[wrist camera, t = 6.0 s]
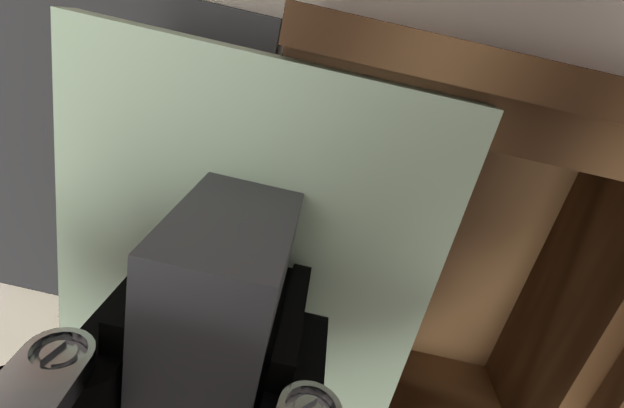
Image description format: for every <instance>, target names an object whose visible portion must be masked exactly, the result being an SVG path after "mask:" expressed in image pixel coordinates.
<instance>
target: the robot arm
mask: <svg viewBox="0 0 624 408" xmlns="http://www.w3.org/2000/svg"><path fill="white" fill-rule="evenodd" d="M311 269H312V267H308V266H303V265H299V264H295V263H294V265H293V268H290V267H288V268H287V272H286V276H285V280H284V284H283V288H282V292H281V296H280V299H279V303H278V307H277V311H276V315H275V319H274V323H273V327H272V331H271V334H270V338H269V342H268V346H267V350H266V354H265V358H264V362H263V367H262V371H261V376H260V380H259V385H258V390H257V394H256V399H255V403H254V408H342V405H341V402H340V400H339V398H338V397H337V396H336V395H335V393H334V392H333V391H332V390H330V389H329V388H328V387H326V386H325V385H324V378H325V364H326V350H327V336H328V320H329V318H328V317H325V316H321V315H316V314H312V313H308V312H305V307H306V301H307V294H308V288H309V282H310V275H311ZM126 287H127V276H126V278H125V279H124V280H123V281H122V282H121V283H120V284H119V285H118V286H117V288H116V289H115V290H114V291H113V292H112V293H111V294H110V295H109V296H108V298H107V299H106V300H105V301H104V302H103V303H102V304H101V305H100V306H99V308H98V309H97V310H96V311H95V312H94V313H93V314H92V315H91V317H90V318H89V319H88V320H87V321H86V322H85V323H84V324H83V325H82V327H81V328H80V329H79V328H73V327H61V328H54V329H50V330H47V331H44V332H42V333H40V334H38V335H36V336H34V337H32V338H31V339H30V340H29V341H27V342H26V343H25V344H24V345H23V346H22V347H21V348H20V349H19V350H18V352H17V353H16V354H15V355H14V356H13V357H12V358H11V359H10V360H9V361H8V362H7V363H6V365H3V366H0V408H121V392H122V371H123V350H124V329H125V308H126Z"/></svg>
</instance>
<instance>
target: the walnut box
mask: <svg viewBox="0 0 624 408" xmlns="http://www.w3.org/2000/svg"><path fill="white" fill-rule="evenodd" d="M278 45H282V46H284V47H283V53H282V56H286V57H290V58H295V59H299V60H303V61H308V62H312V63H316V64H321V65H325V66H329V67H334V68H338V69H342V70H347V71H351V72H355V73H360V74H364V75H368V76H373V77H377V78H381V79H386V80H390V81H394V82H399V83H403V84H407V85H412V86H416V87H420V88H425V89H429V90H433V91H438V92H442V93H446V94H451V95H455V96H459V97H464V98H468V99H472V100H477V101H481V102H485V103H490V104H492V105H494V106H496V107H498V108H500V109H502V110H504V112H503V115H502V117H501V120H500V122H499V125H498V127H497V130H496V133H495V135H494V138H493V140H492V143H491V145H490V148H489V151H488V153H487V156H486V158H485V161H484V163H483V166H482V169H481V171H480V174H479V176H478V179H477V181H476V184H475V187H474V189H473V192H472V194H471V197H470V199H469V202H468V205H467V207H466V210H465V212H464V215H463V217H462V220H461V223H460V225H459V228H458V230H457V233H456V235H455V238H454V241H453V243H452V246H451V248H450V251H449V253H448V256H447V259H446V261H445V264H444V266H443V269H442V271H441V274H440V276H439V279H438V282H437V284H436V287H435V289H434V292H433V294H432V297H431V300H430V302H429V305H428V307H427V310H426V312H425V315H424V318H423V320H422V323H421V325H420V328H419V330H418V333H417V336H416V338H415V341H414V343H413V346H412V348H411V351H410V354H409V356H408V359H407V361H406V364H405V366H404V369H403V372H402V374H401V377H400V379H399V382H398V384H397V387H396V390H395V392H394V395H393V397H392V400H391V402H390V405H389V408H624V77H622V76H618V75H613V74H609V73H605V72H601V71H596V70H592V69H588V68H583V67H579V66H575V65H570V64H566V63H562V62H557V61H553V60H549V59H544V58H540V57H536V56H531V55H527V54H523V53H519V52H514V51H510V50H506V49H501V48H497V47H493V46H488V45H484V44H480V43H475V42H471V41H467V40H462V39H458V38H454V37H450V36H445V35H441V34H437V33H432V32H428V31H424V30H419V29H415V28H411V27H406V26H402V25H398V24H393V23H389V22H385V21H381V20H376V19H372V18H368V17H363V16H359V15H355V14H350V13H346V12H342V11H337V10H333V9H329V8H324V7H320V6H316V5H312V4H307V3H303V2H299V1H294V0H286V3H285V8H284V14H283V20H282V26H281V32H280V38H279V44H278Z"/></svg>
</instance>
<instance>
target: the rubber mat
mask: <svg viewBox="0 0 624 408" xmlns="http://www.w3.org/2000/svg"><path fill="white" fill-rule="evenodd" d="M50 6H56V7H70V8H78V9H82V10H87V11H91V12H95V13H100V14H104V15H108V16H113V17H117V18H121V19H126V20H130V21H134V22H139V23H143V24H147V25H152V26H156V27H160V28H165V29H169V30H173V31H178V32H182V33H186V34H191V35H195V36H199V37H204V38H208V39H212V40H217V41H221V42H225V43H230V44H234V45H238V46H243V47H247V48H251V49H256V50H260V51H264V52H269V53H273V54H277V50H278V44H279V38H280V32H281V26H282V20H283V19H280V18H275V17H271V16H267V15H263V14H258V13H254V12H250V11H245V10H241V9H237V8H232V7H228V6H224V5H219V4H215V3H211V2H206V1H202V0H0V283H5V284H9V285H14V286H18V287H23V288H27V289H32V290H36V291H40V292H45V293H49V294H54V295H58V260H57V224H56V188H55V153H54V117H53V82H52V46H51V10H50ZM58 296H59V295H58Z"/></svg>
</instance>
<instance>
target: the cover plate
mask: <svg viewBox="0 0 624 408" xmlns="http://www.w3.org/2000/svg"><path fill="white" fill-rule="evenodd" d="M50 10H51V46H52V82H53V117H54V153H55V188H56V224H57V260H58V295H59V328H61V327H73V328H79V329H80V328H81V327H82V325H83V324H84V323H85V322H86V321H87V320H88V319H89V318H90V317H91V315H92V314H93V313H94V312H95V311H96V310H97V309H98V308H99V306H100V305H101V304H102V303H103V302H104V301H105V300H106V299H107V298H108V296H109V295H110V294H111V293H112V292H113V291H114V290H115V289H116V288H117V286H118V285H119V284H120V283H121V282H122V281H123V280H124V279H125V278H126V276H127V287H126V308H125V329H124V350H123V371H122V392H121V408H254V403H255V399H256V394H257V390H258V385H259V380H260V376H261V371H262V367H263V362H264V358H265V354H266V350H267V346H268V342H269V338H270V334H271V331H272V327H273V323H274V319H275V315H276V311H277V307H278V303H279V299H280V296H281V292H282V288H283V284H284V280H285V276H286V272H287V268H288V267H290V268H293V265H294V263H295V264H299V265H303V266H308V267H312V269H311V275H310V282H309V288H308V294H307V301H306V307H305V312H308V313H312V314H316V315H321V316H325V317H328V318H329V320H328V336H327V350H326V364H325V378H324V385H325V386H326V387H328V388H329V389H330V390H332V391H333V392H334V393H335V395H336V396H337V397H338V398H339V400H340V402H341V405H342V408H389V405H390V402H391V400H392V397H393V395H394V392H395V390H396V387H397V384H398V382H399V379H400V377H401V374H402V372H403V369H404V366H405V364H406V361H407V359H408V356H409V354H410V351H411V348H412V346H413V343H414V341H415V338H416V336H417V333H418V330H419V328H420V325H421V323H422V320H423V318H424V315H425V312H426V310H427V307H428V305H429V302H430V300H431V297H432V294H433V292H434V289H435V287H436V284H437V282H438V279H439V276H440V274H441V271H442V269H443V266H444V264H445V261H446V259H447V256H448V253H449V251H450V248H451V246H452V243H453V241H454V238H455V235H456V233H457V230H458V228H459V225H460V223H461V220H462V217H463V215H464V212H465V210H466V207H467V205H468V202H469V199H470V197H471V194H472V192H473V189H474V187H475V184H476V181H477V179H478V176H479V174H480V171H481V169H482V166H483V163H484V161H485V158H486V156H487V153H488V151H489V148H490V145H491V143H492V140H493V138H494V135H495V133H496V130H497V127H498V125H499V122H500V120H501V117H502V115H503V112H504V110H502V109H500V108H498V107H496V106H494V105H492V104H490V103H485V102H481V101H477V100H472V99H468V98H464V97H459V96H455V95H451V94H446V93H442V92H438V91H433V90H429V89H425V88H420V87H416V86H412V85H407V84H403V83H399V82H394V81H390V80H386V79H381V78H377V77H373V76H368V75H364V74H360V73H355V72H351V71H347V70H342V69H338V68H334V67H329V66H325V65H321V64H316V63H312V62H308V61H303V60H299V59H295V58H290V57H286V56H282V55H277V54H273V53H269V52H264V51H260V50H256V49H251V48H247V47H243V46H238V45H234V44H230V43H225V42H221V41H217V40H212V39H208V38H204V37H199V36H195V35H191V34H186V33H182V32H178V31H173V30H169V29H165V28H160V27H156V26H152V25H147V24H143V23H139V22H134V21H130V20H126V19H121V18H117V17H113V16H108V15H104V14H100V13H95V12H91V11H87V10H82V9H78V8H70V7H56V6H50Z"/></svg>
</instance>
